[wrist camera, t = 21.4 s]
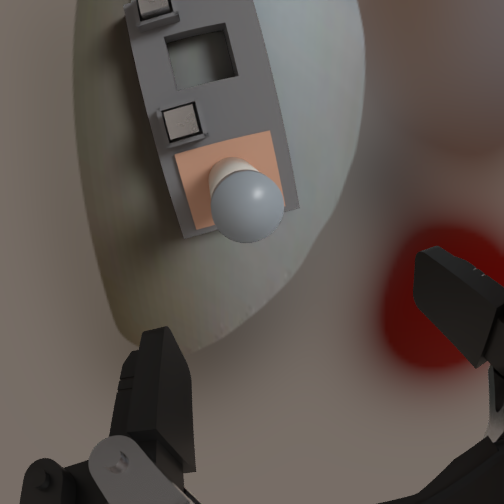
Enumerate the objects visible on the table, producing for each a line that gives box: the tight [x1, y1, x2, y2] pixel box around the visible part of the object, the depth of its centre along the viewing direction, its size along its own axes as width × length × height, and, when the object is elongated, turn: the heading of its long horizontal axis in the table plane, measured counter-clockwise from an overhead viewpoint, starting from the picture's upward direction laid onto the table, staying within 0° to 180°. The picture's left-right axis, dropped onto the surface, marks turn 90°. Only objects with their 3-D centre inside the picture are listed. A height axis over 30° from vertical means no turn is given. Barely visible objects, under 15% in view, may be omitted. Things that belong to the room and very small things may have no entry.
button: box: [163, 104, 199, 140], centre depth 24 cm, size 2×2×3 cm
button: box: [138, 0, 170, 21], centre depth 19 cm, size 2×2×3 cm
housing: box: [123, 0, 300, 239], centre depth 25 cm, size 25×12×4 cm, turn 13°
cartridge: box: [208, 157, 284, 243], centre depth 23 cm, size 5×5×10 cm
